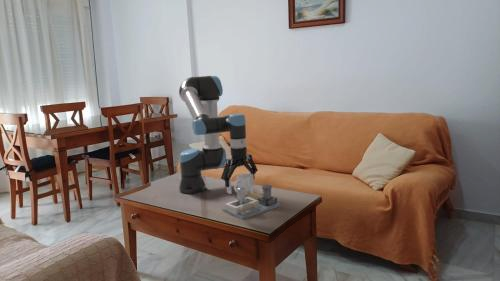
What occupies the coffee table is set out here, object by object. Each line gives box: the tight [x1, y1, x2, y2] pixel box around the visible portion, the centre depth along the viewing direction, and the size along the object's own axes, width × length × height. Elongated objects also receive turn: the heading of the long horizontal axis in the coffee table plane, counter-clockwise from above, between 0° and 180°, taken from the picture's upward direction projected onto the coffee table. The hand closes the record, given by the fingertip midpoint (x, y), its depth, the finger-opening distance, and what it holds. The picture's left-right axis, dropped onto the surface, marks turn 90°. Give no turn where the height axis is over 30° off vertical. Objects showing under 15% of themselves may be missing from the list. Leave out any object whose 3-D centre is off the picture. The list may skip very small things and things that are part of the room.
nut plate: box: [221, 184, 281, 220], centre depth 187 cm, size 16×24×10 cm, turn 128°
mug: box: [233, 173, 254, 197], centre depth 209 cm, size 12×8×10 cm
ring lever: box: [246, 191, 278, 206], centre depth 194 cm, size 18×7×2 cm, turn 38°
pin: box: [236, 186, 247, 206], centre depth 185 cm, size 4×4×10 cm
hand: (240, 189), depth 184 cm, fingers open, 13 cm apart
